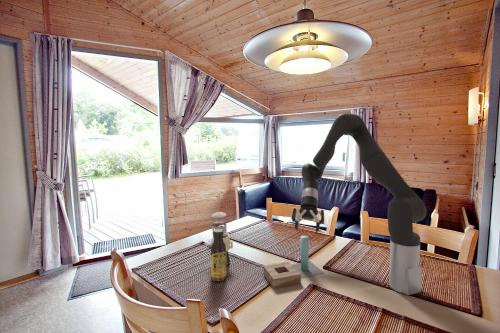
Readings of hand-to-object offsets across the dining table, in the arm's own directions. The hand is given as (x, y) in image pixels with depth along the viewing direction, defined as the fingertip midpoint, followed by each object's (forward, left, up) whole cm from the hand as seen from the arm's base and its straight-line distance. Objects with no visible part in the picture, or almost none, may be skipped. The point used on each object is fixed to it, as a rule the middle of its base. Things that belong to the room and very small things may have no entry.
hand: (306, 230), depth 119 cm
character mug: (+12, +36, -14) cm, 40 cm away
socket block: (-10, +17, -14) cm, 24 cm away
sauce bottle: (0, +40, -14) cm, 42 cm away
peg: (-6, +5, -14) cm, 16 cm away
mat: (-6, +5, -14) cm, 16 cm away
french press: (+43, +32, -14) cm, 55 cm away
